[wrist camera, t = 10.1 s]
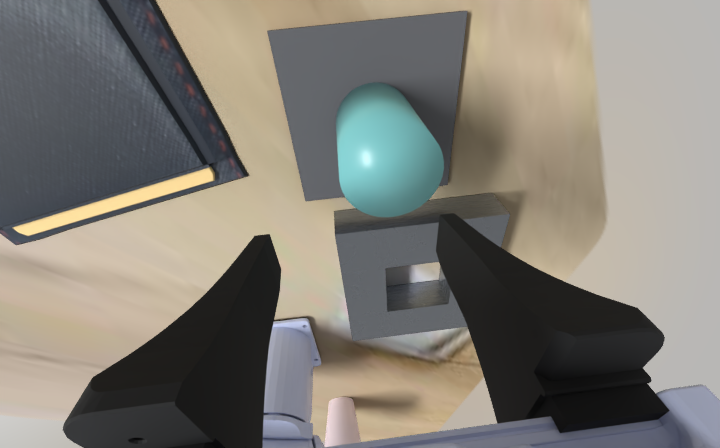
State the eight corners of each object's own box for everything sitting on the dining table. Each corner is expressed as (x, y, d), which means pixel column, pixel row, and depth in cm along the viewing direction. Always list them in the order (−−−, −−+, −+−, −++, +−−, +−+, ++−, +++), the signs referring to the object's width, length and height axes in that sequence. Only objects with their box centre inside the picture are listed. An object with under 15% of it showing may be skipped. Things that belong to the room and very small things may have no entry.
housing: (468, 301, 33) (479, 325, 31) (350, 315, 33) (352, 340, 30) (492, 192, 24) (510, 213, 22) (334, 211, 24) (335, 234, 22)
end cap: (410, 154, 21) (439, 211, 16) (340, 162, 21) (345, 222, 16) (412, 77, 18) (449, 116, 13) (330, 87, 18) (332, 129, 13)
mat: (445, 182, 23) (447, 184, 23) (305, 198, 23) (305, 201, 23) (464, 10, 17) (467, 11, 16) (268, 30, 16) (267, 31, 16)
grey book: (74, -127, 12) (249, 192, 21) (103, -113, 13) (254, 179, 22) (-331, 18, 13) (-2, 257, 22) (-264, 16, 15) (19, 241, 24)
